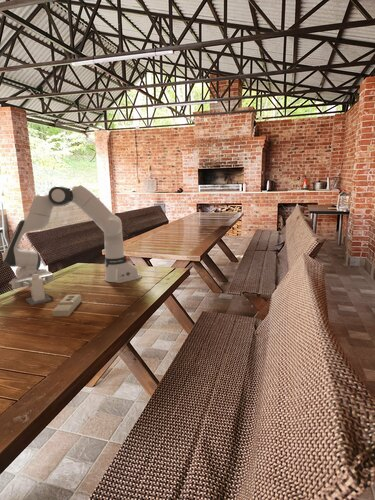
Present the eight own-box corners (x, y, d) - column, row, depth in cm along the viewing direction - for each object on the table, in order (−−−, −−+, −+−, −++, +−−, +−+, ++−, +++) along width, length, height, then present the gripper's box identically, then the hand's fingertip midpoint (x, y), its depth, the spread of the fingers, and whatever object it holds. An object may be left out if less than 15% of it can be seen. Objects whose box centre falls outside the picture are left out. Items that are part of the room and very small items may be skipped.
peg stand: (45, 295, 169) (44, 281, 168) (51, 300, 162) (49, 286, 160) (25, 300, 163) (23, 285, 162) (30, 305, 156) (28, 290, 154)
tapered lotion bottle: (42, 296, 166) (38, 272, 163) (45, 298, 162) (41, 274, 159) (32, 298, 163) (28, 274, 160) (34, 301, 159) (31, 277, 156)
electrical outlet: (52, 308, 142) (66, 294, 160) (53, 317, 143) (67, 301, 161) (67, 308, 142) (80, 294, 160) (68, 316, 143) (81, 301, 161)
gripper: (7, 276, 163) (13, 282, 153) (48, 268, 176) (56, 273, 165) (9, 287, 165) (15, 294, 154) (49, 279, 177) (57, 285, 167)
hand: (36, 283), depth 160 cm, fingers open, 5 cm apart
